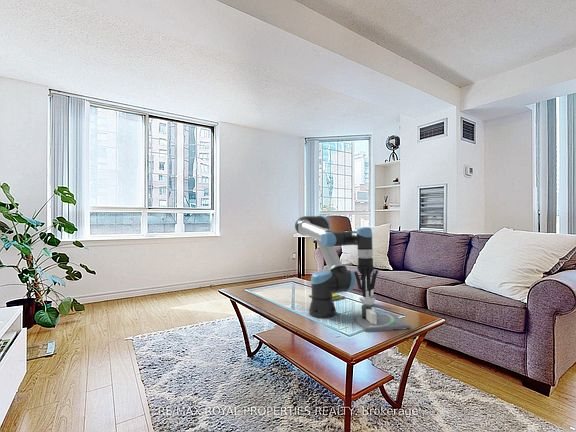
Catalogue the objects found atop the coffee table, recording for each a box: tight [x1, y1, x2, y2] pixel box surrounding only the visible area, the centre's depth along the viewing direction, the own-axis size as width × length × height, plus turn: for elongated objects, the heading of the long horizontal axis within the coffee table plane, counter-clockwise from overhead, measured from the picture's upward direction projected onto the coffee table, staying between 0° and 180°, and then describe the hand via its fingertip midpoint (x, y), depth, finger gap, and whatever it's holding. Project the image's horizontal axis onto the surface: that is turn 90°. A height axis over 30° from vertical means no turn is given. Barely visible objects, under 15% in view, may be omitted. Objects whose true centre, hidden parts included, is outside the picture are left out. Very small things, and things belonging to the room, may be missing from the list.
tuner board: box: [352, 313, 411, 333], centre depth 151 cm, size 22×18×2 cm
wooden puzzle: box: [308, 293, 346, 301], centre depth 204 cm, size 17×19×4 cm
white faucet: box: [358, 279, 377, 306], centre depth 185 cm, size 7×9×15 cm
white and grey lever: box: [361, 304, 378, 325], centre depth 151 cm, size 14×5×6 cm, turn 5°
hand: (366, 303), depth 155 cm, fingers closed
